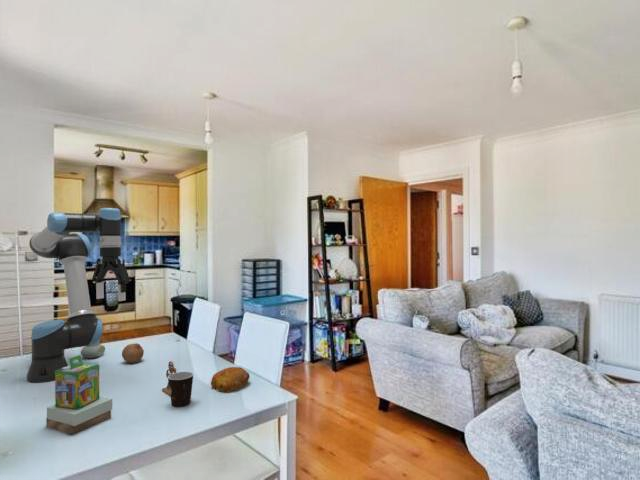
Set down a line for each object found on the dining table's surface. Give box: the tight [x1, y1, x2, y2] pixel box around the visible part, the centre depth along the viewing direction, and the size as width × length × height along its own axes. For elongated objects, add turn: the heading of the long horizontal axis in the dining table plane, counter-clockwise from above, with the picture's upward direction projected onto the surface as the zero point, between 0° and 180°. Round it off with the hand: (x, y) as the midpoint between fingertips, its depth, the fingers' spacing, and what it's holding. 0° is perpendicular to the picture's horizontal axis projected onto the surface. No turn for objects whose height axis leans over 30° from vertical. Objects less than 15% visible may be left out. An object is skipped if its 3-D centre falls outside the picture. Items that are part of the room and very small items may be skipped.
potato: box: [210, 366, 250, 393], centre depth 161 cm, size 14×16×8 cm
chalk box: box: [54, 354, 100, 409], centre depth 129 cm, size 9×9×15 cm
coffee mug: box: [167, 371, 194, 408], centre depth 142 cm, size 12×9×10 cm
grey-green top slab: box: [46, 395, 113, 426], centre depth 129 cm, size 13×13×4 cm
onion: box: [121, 342, 145, 364], centre depth 192 cm, size 10×9×10 cm
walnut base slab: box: [45, 410, 112, 436], centre depth 129 cm, size 13×13×4 cm
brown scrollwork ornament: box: [161, 360, 177, 397], centre depth 154 cm, size 9×4×12 cm, turn 43°
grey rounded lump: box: [80, 339, 106, 359], centre depth 202 cm, size 11×8×10 cm
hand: (110, 299), depth 161 cm, fingers open, 13 cm apart
